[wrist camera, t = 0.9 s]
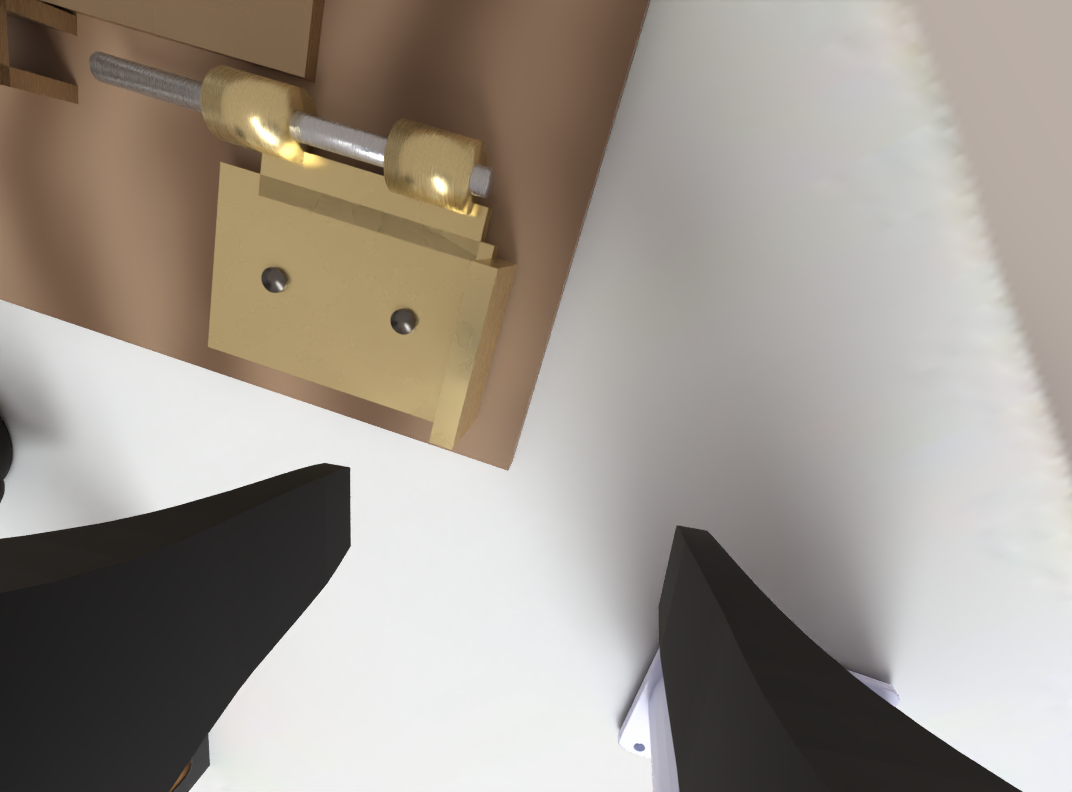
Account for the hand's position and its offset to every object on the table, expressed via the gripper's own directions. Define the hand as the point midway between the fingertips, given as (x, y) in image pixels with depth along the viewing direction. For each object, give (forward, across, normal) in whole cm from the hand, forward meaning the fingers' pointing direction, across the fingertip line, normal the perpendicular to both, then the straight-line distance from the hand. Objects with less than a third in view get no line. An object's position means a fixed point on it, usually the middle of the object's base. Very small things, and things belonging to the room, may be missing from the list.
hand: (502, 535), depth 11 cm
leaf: (+8, +9, -5) cm, 13 cm away
